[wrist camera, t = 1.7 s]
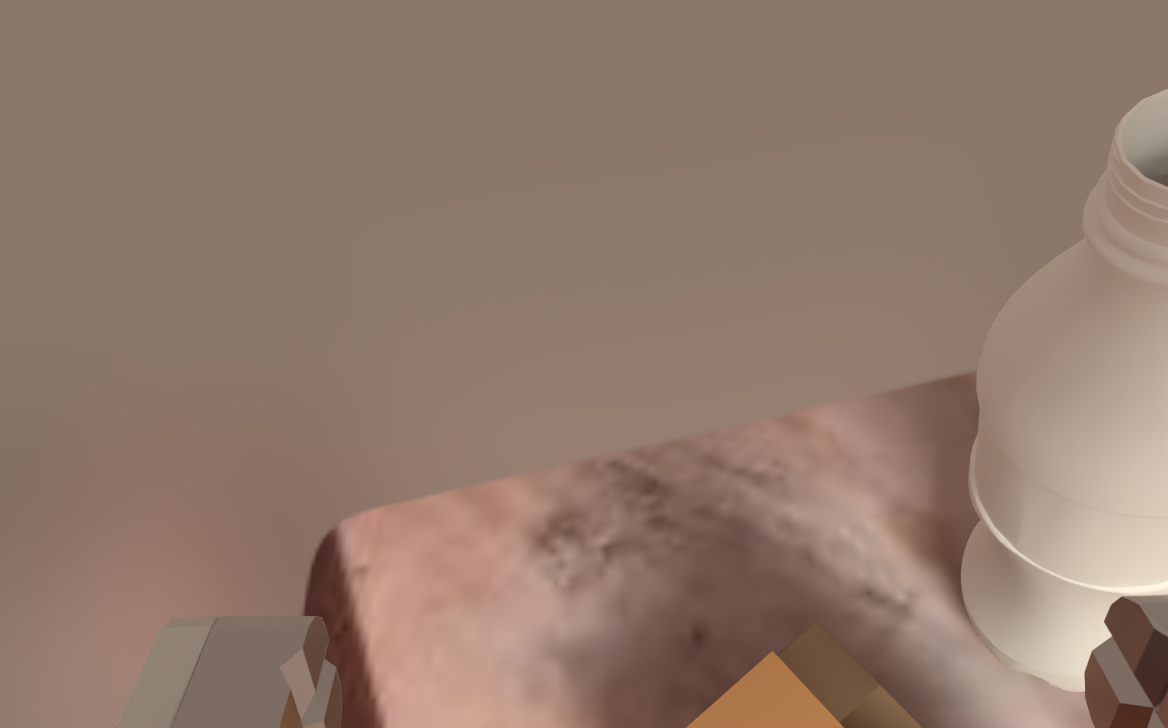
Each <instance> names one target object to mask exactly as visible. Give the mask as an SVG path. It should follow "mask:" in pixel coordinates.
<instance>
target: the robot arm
mask: <svg viewBox="0 0 1168 728" xmlns="http://www.w3.org/2000/svg"><path fill="white" fill-rule="evenodd" d="M1104 623H1105V624H1106V626H1107V628H1108V630H1109V631H1110V633H1111V635H1112V636H1111V637H1110V638H1109V639H1107V640H1106V641H1105V642H1103V643H1102V644H1100V645H1099V646H1098V647H1096V648H1095V649H1093V650H1092V652H1091V655H1090V658H1089V661H1088V664H1087V666H1086V669H1085V672H1084V677H1085V699H1086V702H1087V706H1088V709H1089V712H1090V716H1091V719H1092V721H1093V724H1094V726H1095V728H1168V595H1146V596H1122V597H1120V598H1119V599H1118V600H1116V601H1115V602H1114V603H1112V604H1111V606H1110V608H1109V611H1108V613H1107V615H1106V618H1105V620H1104ZM328 641H329V638H328V634H327V631H326V628H325V625H324V621H323V618H321V617H316V616H221V617H172V618H171V619H170V620H169V621H168V622H167V623H166V624H165V626H164V627H163V628H162V629H161V630H160V632H159V634H158V636H157V638H156V640H155V642H154V645H153V647H152V649H151V651H150V653H149V655H148V658H147V660H146V662H145V664H144V666H143V669H142V671H141V673H140V675H139V677H138V680H137V682H136V684H135V686H134V688H133V690H132V693H131V695H130V697H129V699H128V702H127V704H126V706H125V708H124V710H123V712H122V715H121V717H120V719H119V721H118V723H117V726H116V728H340V722H341V709H342V700H341V688H340V681H339V677H338V672H337V668H336V667H335V666H333V665H332V664H331V663H330V662H328V661H327V660H326V659H324V657H325V653H326V649H327V645H328Z"/></svg>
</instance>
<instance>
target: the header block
mask: <svg viewBox="0 0 1168 728" xmlns="http://www.w3.org/2000/svg"><path fill="white" fill-rule="evenodd" d="M778 657H779V658H780V659H781V660H782V661H783V662H784V664H785V665H786V666H787V667H788V668H789V669H790V670H791V671H792V672H793V673H794V674H795V675H796V676H797V678H798V679H799V680H800V681H801V682H802V683H803V684H804V685H805V686H806V687H807V688H808V689H809V691H810V692H811V693H812V694H813V695H814V696H815V697H816V698H817V699H818V700H819V701H820V702H821V703H822V705H823V706H824V707H825V708H826V709H827V710H828V711H829V712H830V713H831V714H832V715H833V716H834V718H835V719H836V720H837V721H838V722H839V723H840V724H841V725H842V726H843V727H844V728H922V727H921V726H920V725H919V724H918V723H917V722H916V721H915V720H914V719H913V718H912V717H911V716H910V715H909V714H908V713H907V711H906V710H905V709H904V708H903V707H902V706H901V705H900V704H899V703H898V702H897V701H896V700H895V699H894V698H893V697H892V696H891V695H890V694H889V693H888V692H887V691H886V690H885V689H884V688H883V687H882V686H881V685H880V684H879V683H878V682H877V681H876V680H875V679H874V678H873V677H872V676H871V675H870V674H869V673H868V672H867V671H866V670H865V669H864V668H863V667H862V666H861V665H860V664H859V663H858V662H857V661H856V660H855V659H854V658H853V657H852V656H851V655H850V654H849V653H848V652H847V651H846V650H845V649H844V648H843V647H842V646H841V645H840V644H839V643H838V642H837V641H836V640H835V639H834V638H833V637H832V636H831V635H830V634H829V633H828V632H827V630H826V629H825V628H824V627H823V626H822V625H821V624H820V623H819V622H818V621H816V622H815V623H814V624H812V625H811V626H810V627H809V628H808V629H807V630H806V631H805V632H803V633H802V634H801V635H800V636H799V637H798V638H797V639H796V640H794V641H793V642H792V643H791V644H790V645H789V646H788V647H787V648H786V649H784V650H783V651H782V652H781V653H780V654H779V655H778Z"/></svg>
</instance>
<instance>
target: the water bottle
mask: <svg viewBox="0 0 1168 728" xmlns="http://www.w3.org/2000/svg"><path fill="white" fill-rule="evenodd" d="M1082 227H1083V233H1084V237H1085V238H1084V239H1082V240H1081V241H1080V242H1078V243H1077V244H1075V245H1073V246H1072V247H1070V248H1069V249H1068V250H1066V251H1064V252H1063V253H1061V254H1060V255H1058V256H1057V257H1056V258H1054V259H1053V260H1052V261H1050V262H1049V263H1048V264H1046V265H1045V266H1044V267H1043V268H1041V269H1040V270H1039V271H1038V272H1036V273H1035V274H1034V275H1032V276H1031V277H1030V278H1029V279H1028V280H1027V281H1026V282H1025V283H1024V284H1023V285H1022V286H1021V287H1020V288H1019V289H1018V290H1017V291H1016V292H1015V293H1014V294H1013V295H1012V296H1011V297H1010V298H1009V300H1008V301H1007V302H1006V304H1005V305H1004V306H1003V308H1002V309H1001V311H1000V312H999V313H998V315H997V317H996V318H995V320H994V322H993V324H992V326H991V327H990V330H989V332H988V334H987V337H986V340H985V342H984V344H983V347H982V351H981V355H980V359H979V363H978V367H977V380H976V391H977V397H978V402H979V408H980V411H979V422H978V434H977V436H976V438H975V441H974V443H973V447H972V451H971V455H970V464H969V476H968V487H969V494H970V498H971V502H972V504H973V507H974V509H975V512H976V513H977V515H978V517H979V518H980V520H979V522H978V523H977V525H976V526H975V528H974V530H973V531H972V533H971V535H970V537H969V539H968V542H967V544H966V548H965V551H964V554H963V560H962V566H961V589H962V596H963V601H964V605H965V608H966V612H967V614H968V616H969V618H970V620H971V623H972V625H973V627H974V629H975V631H976V633H977V634H978V636H979V637H980V638H981V640H982V641H983V643H984V644H985V646H986V647H987V648H988V649H989V650H990V651H991V652H992V653H993V654H994V655H995V657H996V658H997V659H998V660H999V661H1001V662H1002V663H1003V664H1004V665H1006V666H1007V667H1009V668H1011V669H1013V670H1015V671H1018V672H1020V673H1022V674H1024V673H1027V674H1031V675H1034V676H1036V677H1039V678H1041V679H1043V680H1045V681H1047V682H1048V683H1049V684H1050V685H1052V686H1055V687H1057V688H1060V689H1062V690H1065V691H1078V692H1085V677H1084V672H1085V669H1086V666H1087V664H1088V661H1089V658H1090V655H1091V652H1092V650H1093V649H1095V648H1096V647H1098V646H1099V645H1100V644H1102V643H1103V642H1105V641H1106V640H1107V639H1109V638H1110V637H1111V636H1112V635H1111V633H1110V631H1109V630H1108V628H1107V626H1106V624H1105V623H1104V620H1105V618H1106V615H1107V613H1108V611H1109V608H1110V606H1111V604H1112V603H1114V602H1115V601H1116V600H1118V599H1119V598H1120V597H1122V596H1146V595H1168V89H1167V90H1164V91H1162V92H1159V93H1157V94H1155V95H1153V96H1150V97H1148V98H1145V99H1143V100H1141V101H1140V102H1139V103H1138V104H1137V105H1136V106H1135V107H1134V108H1133V109H1131V110H1130V111H1129V112H1128V113H1127V114H1126V115H1125V116H1124V117H1123V118H1122V120H1121V122H1120V123H1119V124H1118V126H1116V130H1115V133H1114V138H1113V142H1112V146H1111V149H1110V152H1109V158H1108V165H1107V169H1106V170H1105V172H1104V173H1103V174H1102V175H1101V176H1100V179H1099V181H1098V183H1097V185H1096V186H1095V187H1094V189H1093V190H1092V192H1091V193H1090V195H1089V196H1088V198H1087V201H1086V204H1085V207H1084V210H1083V218H1082Z"/></svg>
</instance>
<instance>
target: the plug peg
mask: <svg viewBox="0 0 1168 728" xmlns="http://www.w3.org/2000/svg"><path fill="white" fill-rule="evenodd" d="M686 728H844V727H843V726H842V725H841V724H840V723H839V722H838V721H837V720H836V719H835V718H834V716H833V715H832V714H831V713H830V712H829V711H828V710H827V709H826V708H825V707H824V706H823V705H822V703H821V702H820V701H819V700H818V699H817V698H816V697H815V696H814V695H813V694H812V693H811V692H810V691H809V689H808V688H807V687H806V686H805V685H804V684H803V683H802V682H801V681H800V680H799V679H798V678H797V676H796V675H795V674H794V673H793V672H792V671H791V670H790V669H789V668H788V667H787V666H786V665H785V664H784V662H783V661H782V660H781V659H780V658H779V657H778V656H777V655H776V654H775V653H774V652H773V651H772V652H770V653H769V654H768V655H767V656H766V657H765V658H764V659H763V660H761V661H760V662H759V663H758V664H757V665H756V666H755V667H754V668H752V669H751V670H750V671H749V672H748V673H747V674H746V675H745V676H743V677H742V678H741V679H740V680H739V681H738V682H737V683H736V684H735V685H733V686H732V687H731V688H730V689H729V690H728V691H727V692H726V693H724V694H723V695H722V696H721V697H720V698H719V699H718V700H717V701H715V702H714V703H713V704H712V705H711V706H710V707H709V708H708V709H706V710H705V711H704V712H703V713H702V714H701V715H700V716H699V717H697V718H696V719H695V720H694V721H693V722H692V723H691V724H690V725H688V726H687V727H686Z"/></svg>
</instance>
